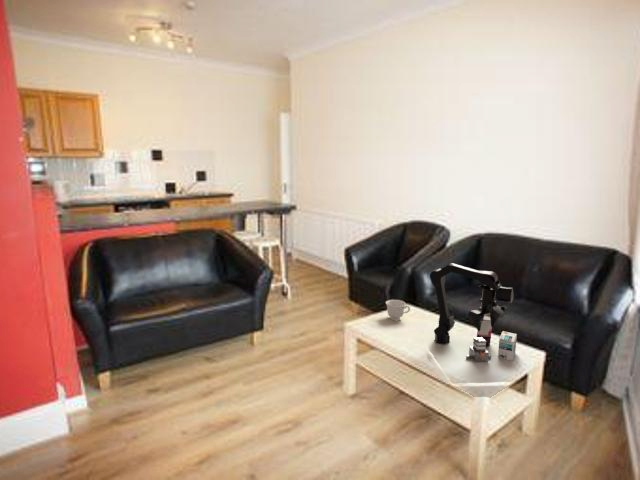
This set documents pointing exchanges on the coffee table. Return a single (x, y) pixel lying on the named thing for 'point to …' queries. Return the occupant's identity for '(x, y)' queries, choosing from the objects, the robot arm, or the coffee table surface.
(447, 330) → the robot arm
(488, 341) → the beverage can
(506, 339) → the light bulb box
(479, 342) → the column
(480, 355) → the stand base
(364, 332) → the coffee table surface
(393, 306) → the teacup
